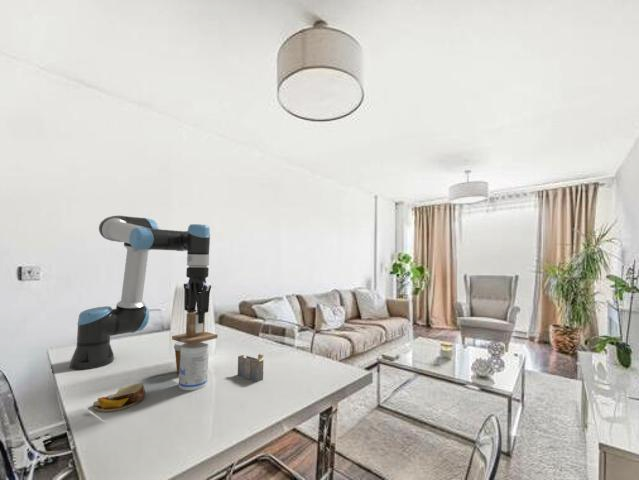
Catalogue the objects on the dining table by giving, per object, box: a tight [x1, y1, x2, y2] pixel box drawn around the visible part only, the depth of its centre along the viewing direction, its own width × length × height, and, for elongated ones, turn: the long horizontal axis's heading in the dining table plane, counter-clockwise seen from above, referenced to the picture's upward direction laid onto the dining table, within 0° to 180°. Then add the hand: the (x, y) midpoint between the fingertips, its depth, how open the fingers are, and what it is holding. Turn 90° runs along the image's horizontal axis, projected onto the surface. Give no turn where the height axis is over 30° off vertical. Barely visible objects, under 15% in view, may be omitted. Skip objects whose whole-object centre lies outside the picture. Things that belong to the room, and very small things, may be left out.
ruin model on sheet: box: [237, 353, 264, 383], centre depth 120 cm, size 11×3×10 cm, turn 55°
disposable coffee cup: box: [173, 341, 185, 375], centre depth 124 cm, size 10×10×12 cm
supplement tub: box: [178, 341, 210, 391], centre depth 111 cm, size 10×10×15 cm
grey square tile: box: [128, 375, 179, 396], centre depth 111 cm, size 12×12×1 cm
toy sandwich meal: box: [92, 382, 146, 413], centre depth 97 cm, size 12×14×5 cm
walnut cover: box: [171, 311, 219, 344], centre depth 112 cm, size 11×11×9 cm
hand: (195, 331), depth 112 cm, fingers closed on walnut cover, 3 cm apart
